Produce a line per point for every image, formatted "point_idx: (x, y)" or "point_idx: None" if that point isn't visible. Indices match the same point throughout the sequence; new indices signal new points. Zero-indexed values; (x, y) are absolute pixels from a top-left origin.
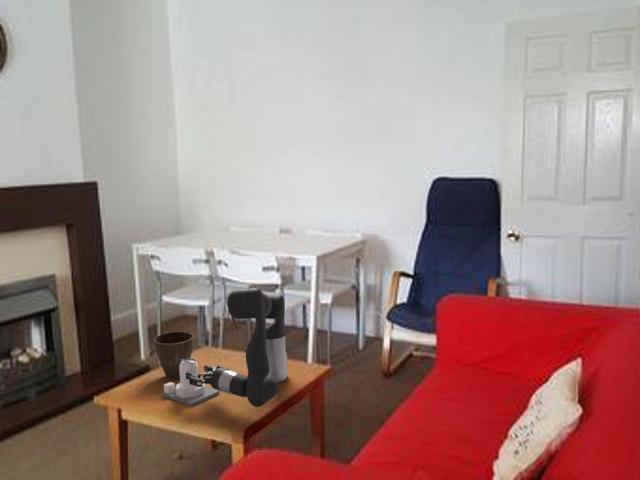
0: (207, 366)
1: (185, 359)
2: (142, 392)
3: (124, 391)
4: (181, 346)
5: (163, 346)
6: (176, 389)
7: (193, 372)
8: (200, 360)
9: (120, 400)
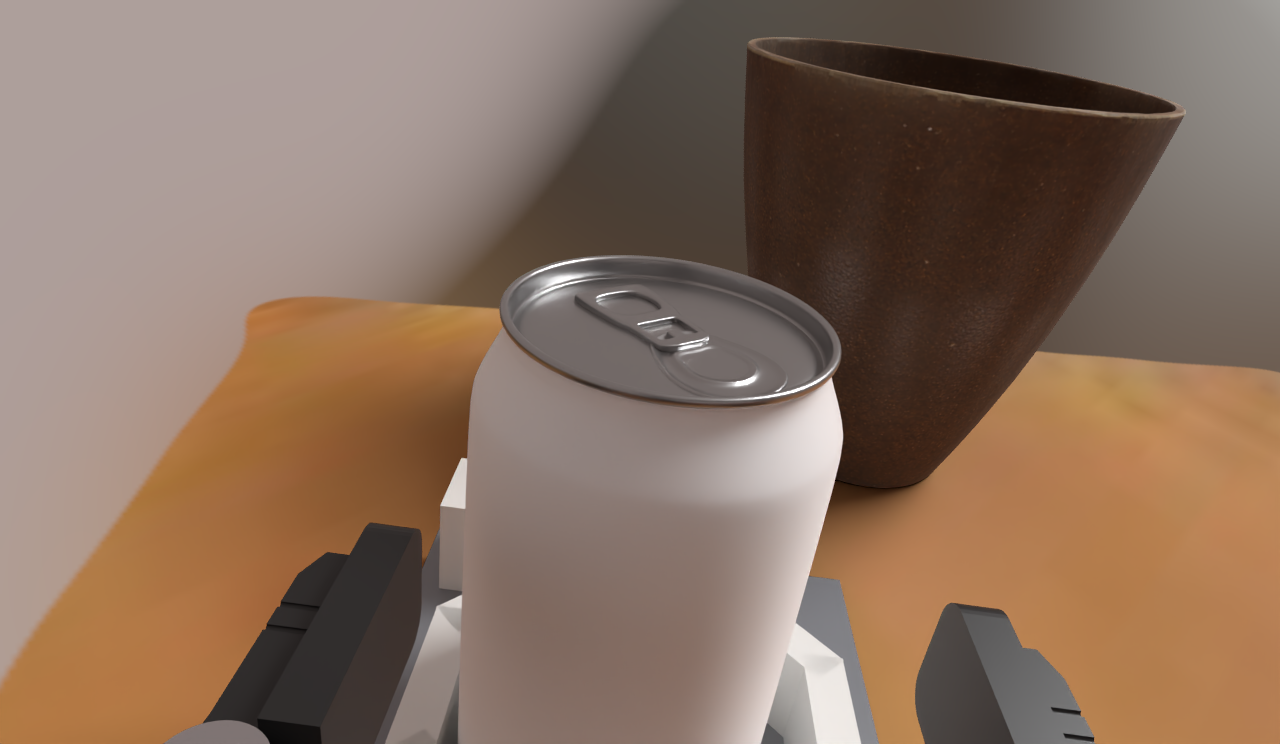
0: (997, 696)
1: (716, 277)
2: (450, 412)
3: (419, 338)
4: (935, 151)
5: (762, 86)
6: (431, 625)
7: (598, 602)
8: (1170, 428)
9: (246, 376)
